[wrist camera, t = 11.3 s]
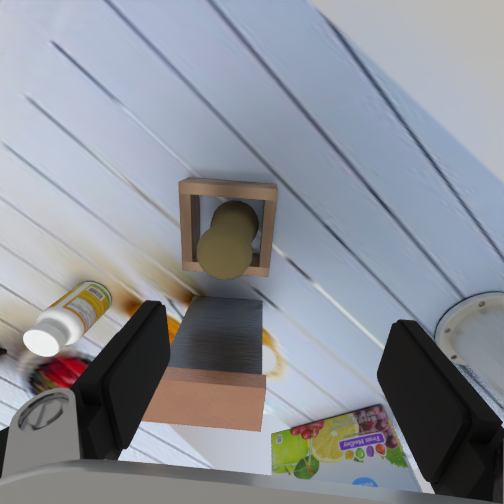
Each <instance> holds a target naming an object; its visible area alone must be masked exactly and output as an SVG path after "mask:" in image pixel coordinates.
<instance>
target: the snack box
mask: <svg viewBox="0 0 504 504" xmlns="http://www.w3.org/2000/svg"><path fill="white" fill-rule="evenodd" d="M271 439H272V440H271V442H272V476H280V477H289V478H298V479H307V480H316V481H325V482H335V483H344V484H352V485H361V486H370V487H378V488H387V489H396V490H404V491H413V492H422V490H421V487H420V485H419V483H418V481H417V479H416V476H415V474H414V472H413V470H412V467H411V465H410V463H409V461H408V459H407V457H406V454H405V452H404V450H403V448H402V446H401V444H400V441H399V439H398V437H397V435H396V433H395V431H394V429H393V427H392V425H391V423H390V421H389V419H388V417H387V415H386V413H385V411H384V409H383V407H382V405H379V406H375V407H371V408H367V409H364V410H360V411H356V412H352V413H349V414H345V415H341V416H337V417H334V418H330V419H326V420H322V421H318V422H314V423H311V424H307V425H303V426H299V427H296V428H292V429H288V430H284V431H280V432H276V433H272V434H271ZM422 493H423V492H422Z"/></svg>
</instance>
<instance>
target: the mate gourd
mask: <svg viewBox="0 0 504 504" xmlns="http://www.w3.org/2000/svg"><path fill="white" fill-rule="evenodd" d="M6 353H7V350H6V349H2V348H0V355H1V354H4V355H5V354H6Z"/></svg>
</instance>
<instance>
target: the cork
mask: <svg viewBox="0 0 504 504" xmlns="http://www.w3.org/2000/svg"><path fill="white" fill-rule="evenodd" d="M258 227H259V221H258V216H257V214H256V213H255V211H254V209H253V208H252V207H250V206H249V205H248V204H246V203H244V202H242V201H234V200H232V201H228V202H225V203H223V204H222V205H220V206H219V207H218V208H217V209H216V210H215V212H214V215H213V217H212V221H211V226H210V229H208V230H207V231H206V232H205V233H204V234H203V235H202V237H201V238H200V239H199V242H198V245H197V259H198V262H199V265H200V266H201V268H202V269H203V270H204V271H205V272H206V273H207V274H209V275H210V276H212V277H214V278H217V279H224V280H228V279H234V278H236V277H238V276H240V275H242V274H243V273H244V272H245V271H246V270H247V268H248V267H249V265H250V263H251V261H252V253H253V249H252V245H251V243H252V241H253V240H254V238H255V236H256V234H257V231H258Z"/></svg>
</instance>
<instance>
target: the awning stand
mask: <svg viewBox="0 0 504 504" xmlns="http://www.w3.org/2000/svg"><path fill="white" fill-rule="evenodd" d="M170 352H171V357H170V362H169V364H168V366H167V368H166V370H165V372H164V374H163V377H162V379H161V381H160V383H159V385H158V387H157V389H156V391H155V393H154V395H153V397H152V399H151V401H150V404H149V406H148V408H147V410H146V412H145V414H144V416H143V418H142V420H141V421H146V422H157V423H169V424H180V425H191V426H204V427H214V428H225V429H237V430H248V431H261V424H262V416H263V409H264V401H265V393H266V375H262V301H256V300H244V299H231V298H219V297H207V296H194V297H193V299H192V301H191V303H190V305H189V308H188V310H187V312H186V314H185V316H184V318H183V320H182V323H181V325H180V327H179V329H178V331H177V333H176V335H175V337H174V340H173V342H172V344H171V346H170Z"/></svg>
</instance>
